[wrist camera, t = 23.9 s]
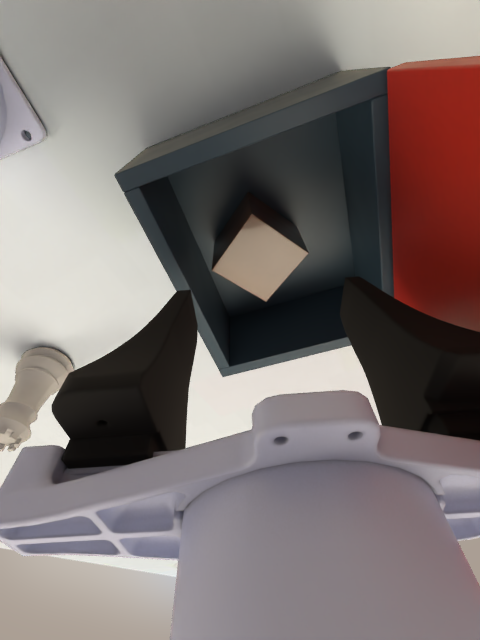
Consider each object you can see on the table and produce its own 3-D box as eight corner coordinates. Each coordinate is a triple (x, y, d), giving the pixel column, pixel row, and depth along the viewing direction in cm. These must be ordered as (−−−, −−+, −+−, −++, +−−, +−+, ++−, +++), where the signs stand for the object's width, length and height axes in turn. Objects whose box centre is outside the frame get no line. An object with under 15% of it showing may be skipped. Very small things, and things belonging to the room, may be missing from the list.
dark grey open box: (223, 321, 26) (222, 377, 21) (144, 148, 18) (113, 174, 13) (363, 281, 24) (398, 333, 19) (342, 70, 16) (391, 65, 11)
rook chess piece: (62, 341, 27) (11, 420, 21) (83, 376, 30) (45, 455, 24) (13, 347, 28) (-52, 427, 21) (39, 381, 30) (-12, 460, 24)
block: (261, 271, 23) (266, 302, 20) (214, 242, 21) (211, 270, 18) (297, 226, 21) (309, 253, 18) (248, 191, 19) (251, 213, 16)
